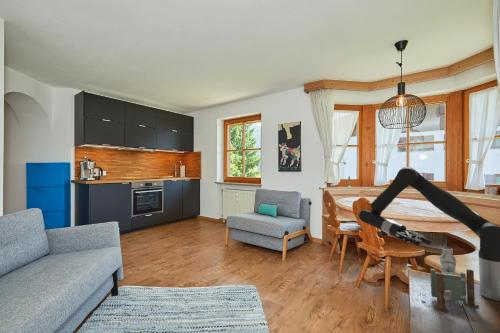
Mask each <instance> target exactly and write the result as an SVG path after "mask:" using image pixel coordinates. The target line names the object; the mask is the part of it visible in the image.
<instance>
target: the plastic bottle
mask: <svg viewBox="0 0 500 333" xmlns="http://www.w3.org/2000/svg"><path fill="white" fill-rule="evenodd" d="M453 253H454V252H453V248H451V247H447V246H445V247H442V253H441V255H440V256H439V262H440V272H441V273H444V274H453V275H457V274H456V270H457V269H456V267H457V259H456V256H455V255H454V254H453Z"/></svg>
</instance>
